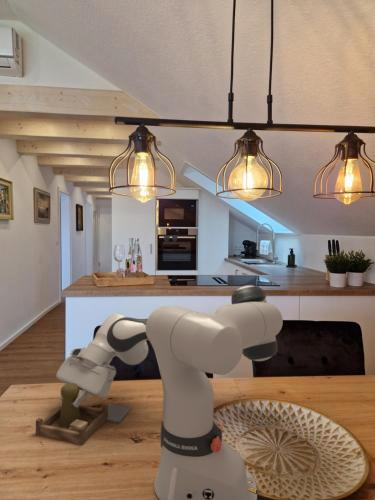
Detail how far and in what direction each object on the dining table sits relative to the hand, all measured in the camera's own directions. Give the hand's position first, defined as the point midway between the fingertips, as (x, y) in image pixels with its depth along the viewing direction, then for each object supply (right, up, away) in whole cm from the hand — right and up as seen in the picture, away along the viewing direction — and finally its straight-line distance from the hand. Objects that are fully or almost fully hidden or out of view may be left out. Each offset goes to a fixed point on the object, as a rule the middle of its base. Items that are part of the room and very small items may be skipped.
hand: (68, 403), depth 95 cm
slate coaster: (+12, -6, +5) cm, 15 cm away
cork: (0, -6, +1) cm, 6 cm away
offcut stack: (+5, -6, -6) cm, 10 cm away
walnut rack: (+2, -6, -1) cm, 6 cm away
